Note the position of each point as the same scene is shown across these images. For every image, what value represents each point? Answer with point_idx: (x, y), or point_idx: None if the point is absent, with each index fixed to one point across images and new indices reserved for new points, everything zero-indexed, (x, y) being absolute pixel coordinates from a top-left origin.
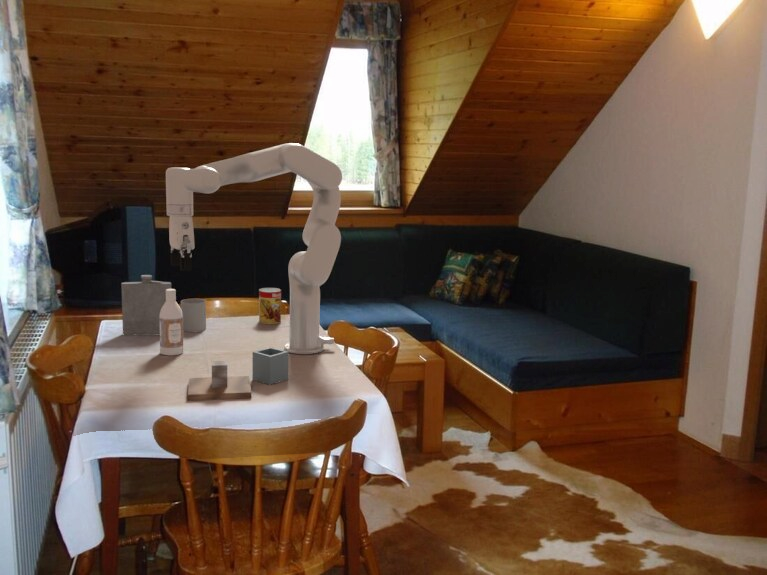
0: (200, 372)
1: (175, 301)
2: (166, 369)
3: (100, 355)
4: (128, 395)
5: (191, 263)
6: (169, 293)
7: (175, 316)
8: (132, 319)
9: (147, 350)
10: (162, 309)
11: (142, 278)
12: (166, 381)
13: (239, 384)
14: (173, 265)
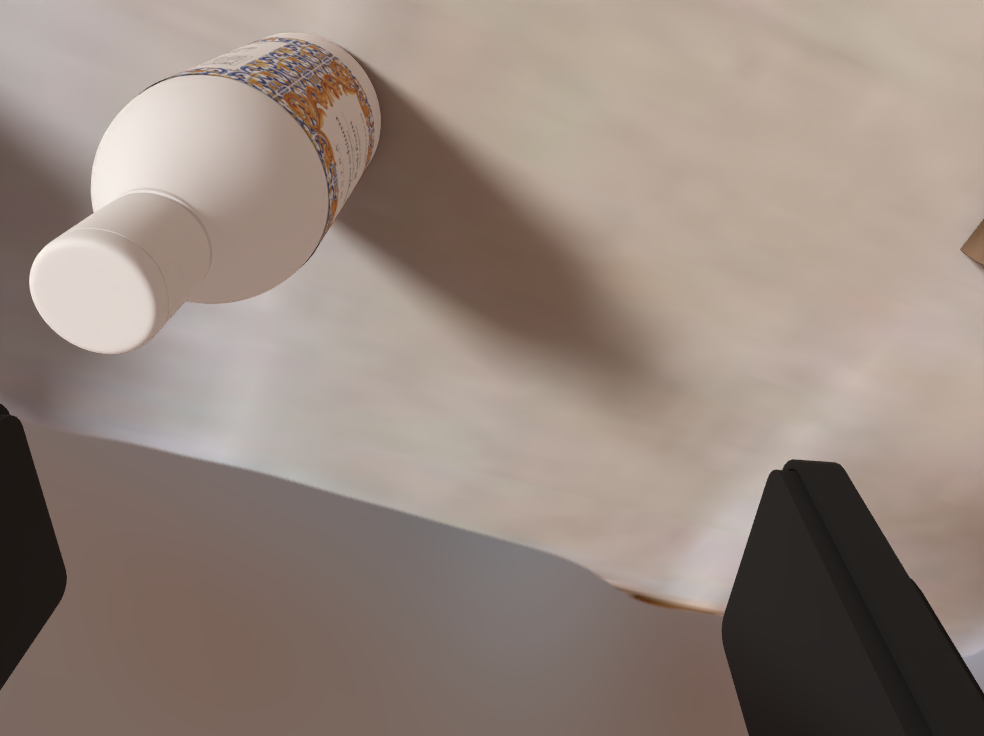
0: (821, 112)
1: (187, 202)
2: (640, 265)
3: (223, 458)
4: (905, 519)
5: (907, 594)
6: (171, 316)
7: (320, 192)
8: None
9: None
10: (220, 302)
11: None
12: (841, 334)
13: None
14: (56, 570)
